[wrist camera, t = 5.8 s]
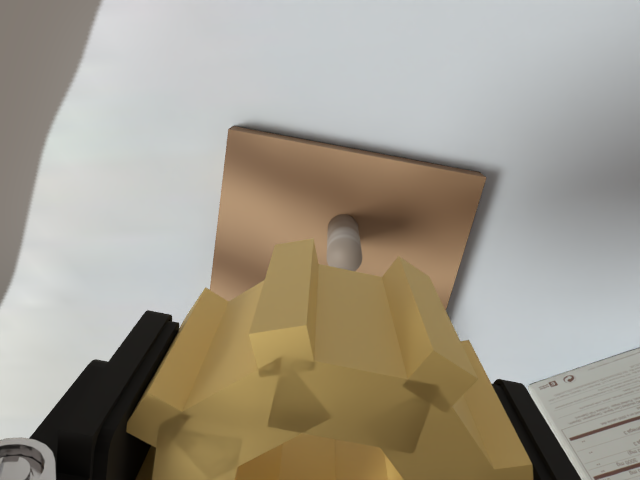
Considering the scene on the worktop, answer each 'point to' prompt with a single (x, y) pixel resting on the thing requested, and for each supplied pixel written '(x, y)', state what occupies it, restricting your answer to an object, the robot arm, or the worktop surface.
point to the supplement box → (596, 416)
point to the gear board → (338, 210)
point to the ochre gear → (324, 384)
